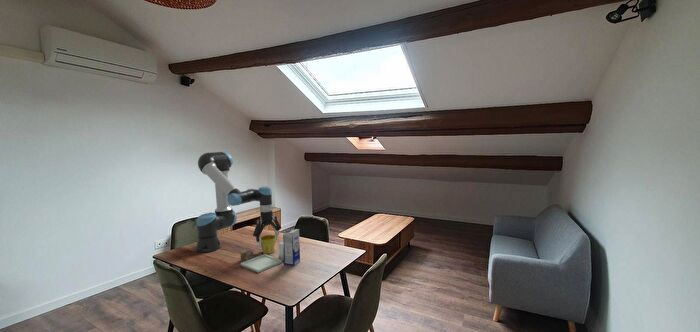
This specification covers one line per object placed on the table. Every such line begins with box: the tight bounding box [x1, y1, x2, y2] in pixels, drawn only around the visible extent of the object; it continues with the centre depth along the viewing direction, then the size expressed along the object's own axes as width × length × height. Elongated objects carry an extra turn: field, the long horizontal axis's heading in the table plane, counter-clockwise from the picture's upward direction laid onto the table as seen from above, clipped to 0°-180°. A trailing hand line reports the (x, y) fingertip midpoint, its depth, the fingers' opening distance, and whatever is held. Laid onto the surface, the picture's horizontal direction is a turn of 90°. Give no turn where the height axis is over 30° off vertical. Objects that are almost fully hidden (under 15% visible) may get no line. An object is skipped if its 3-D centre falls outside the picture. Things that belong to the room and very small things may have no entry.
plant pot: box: [260, 234, 277, 255], centre depth 188 cm, size 10×10×10 cm
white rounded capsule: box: [277, 241, 284, 261], centre depth 178 cm, size 7×7×9 cm
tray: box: [240, 253, 283, 274], centre depth 170 cm, size 17×17×2 cm
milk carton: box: [282, 228, 301, 267], centre depth 169 cm, size 7×7×20 cm
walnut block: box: [240, 249, 254, 262], centre depth 177 cm, size 5×5×5 cm
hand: (268, 243), depth 187 cm, fingers open, 13 cm apart
